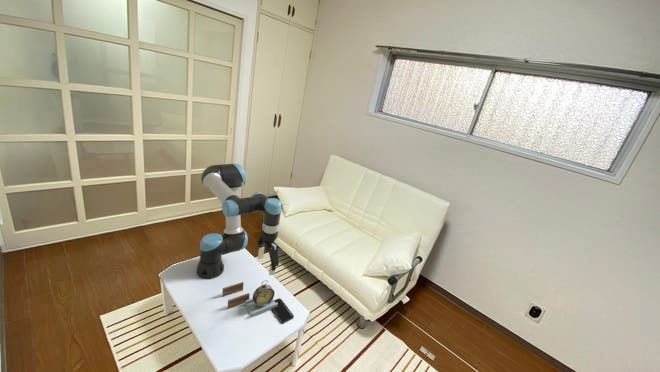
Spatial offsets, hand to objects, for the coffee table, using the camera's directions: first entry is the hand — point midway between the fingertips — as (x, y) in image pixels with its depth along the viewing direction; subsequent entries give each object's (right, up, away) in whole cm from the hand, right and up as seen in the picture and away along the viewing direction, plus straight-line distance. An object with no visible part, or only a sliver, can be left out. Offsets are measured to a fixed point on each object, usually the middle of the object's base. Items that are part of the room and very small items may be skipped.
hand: (265, 266), depth 134 cm
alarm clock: (-4, -24, +10) cm, 26 cm away
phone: (+6, -27, +9) cm, 29 cm away
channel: (-19, -21, +11) cm, 30 cm away
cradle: (-5, -24, +9) cm, 27 cm away
